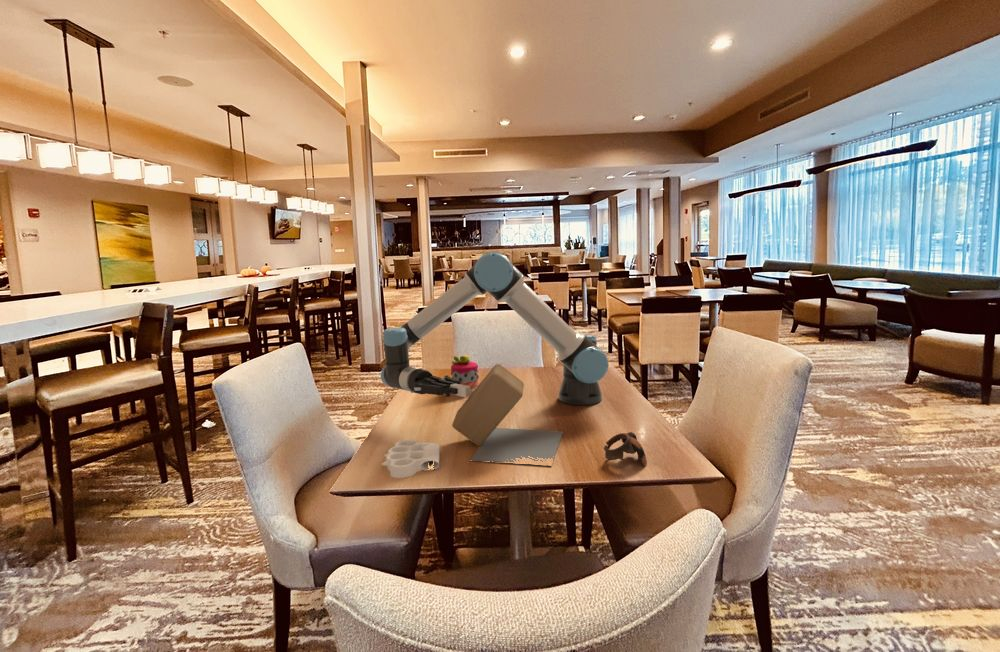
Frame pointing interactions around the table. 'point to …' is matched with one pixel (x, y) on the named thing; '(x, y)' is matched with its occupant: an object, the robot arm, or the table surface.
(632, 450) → the brown hollow looped part
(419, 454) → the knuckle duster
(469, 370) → the cake
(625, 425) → the table surface
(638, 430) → the table surface
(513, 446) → the rubber mat
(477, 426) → the wooden block
